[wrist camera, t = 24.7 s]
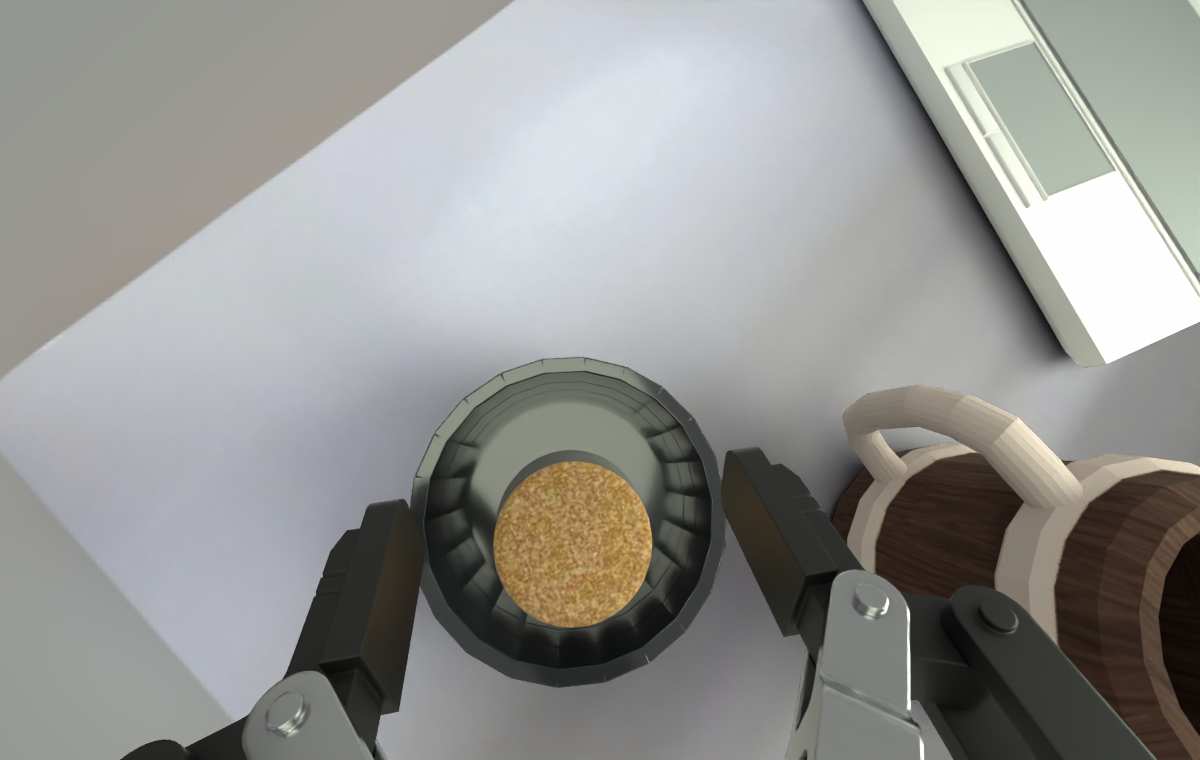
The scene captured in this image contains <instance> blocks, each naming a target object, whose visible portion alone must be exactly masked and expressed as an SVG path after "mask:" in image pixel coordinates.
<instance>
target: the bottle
mask: <svg viewBox="0 0 1200 760" xmlns="http://www.w3.org/2000/svg"><path fill="white" fill-rule="evenodd" d="M493 550H494V559H495V565H496V570H497V573H498V576H499V578H500V580H501V583H502V585H503V587H504V589H505V590H506V592H507V593H508V595H509V596H510V597H511V599H512V600H513V601H514V602H515V603H516V604H517V605H518V606H519V607H520V608H521V609H522V610H523V611H524V612H526V613H527V614H529V615H530V616H532V617H533V618H535V619H537V620H539V621H541V622H544V623H546V624H549V625H554V626H558V627H569V628H572V627H585V626H589V625H592V624H596V623H599V622H601V621H603V620H605V619H607V618H609V617H611V616H613V615H614V614H616V613H617V612H618V611H619V610H621V609H622V608H623V607H624V606H625V605H626V604H627V603H628V602H629V601H630V600H631V599H632V598H633V597H634V595H635V594H636V592H637V591H638V590H639V588H640V586H641V585H642V583H643V581H644V578H645V576H646V573H647V570H648V567H649V564H650V560H651V552H652V533H651V528H650V522H649V518H648V515H647V512H646V510H645V508H644V505H643V503H642V501H641V500H640V498H639V496H638V495H637V492H636V490H635V488H634V487H633V485H632V483H631V482H630V480H629V479H628V478H627V477H626V475H625V474H624V473H623V472H622V471H621V470H620V469H619V468H618V467H617V466H615V465H614V464H613V463H611V462H610V461H608V460H606V459H605V458H603V457H601V456H598V455H595V454H592V453H590V452H586V451H580V450H564V451H557V452H553V453H549V454H547V455H544V456H542V457H539V458H537V459H535V460H534V461H532V462H531V463H529V464H528V465H527V466H525V467H524V468H523V469H522V470H520V472H519V473H518V474H517V475H516V476H515V477H514V479H513V480H512V481H511V482H510V484H509V485H508V487H507V488H506V490H505V492H504V495H503V497H502V499H501V502H500V504H499V508H498V512H497V519H496V527H495V532H494V541H493Z"/></svg>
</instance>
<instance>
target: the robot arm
mask: <svg viewBox="0 0 1200 760" xmlns="http://www.w3.org/2000/svg"><path fill="white" fill-rule="evenodd" d="M721 502H722V507H723V510H724V513H725V516H726V518H727V520H728V522H729V524H730V526H731V528H732V530H733V532H734V534H735V536H736V539H737V541H738V543H739V545H740V547H741V549H742V551H743V553H744V555H745V557H746V559H747V561H748V564H749V566H750V568H751V570H752V572H753V574H754V576H755V578H756V580H757V582H758V584H759V586H760V589H761V591H762V593H763V595H764V597H765V599H766V601H767V603H768V605H769V607H770V609H771V611H772V614H773V616H774V618H775V620H776V622H777V624H778V626H779V628H780V630H781V632H782V634H783V636H784V637H787V636H792V635H797V634H800V635H801V637H802V639H803V641H804V643H805V645H806V650H805V654H804V660H803V666H802V672H801V678H800V684H799V690H798V696H797V702H796V708H795V714H794V720H793V726H792V731H791V736H790V741H789V745H788V749H787V752H786V756H785V760H924V748H923V737H922V732H921V729H920V727H919V725H918V724H917V723H916V722H914V721H913V720H912V717H911V710H910V699H912V700H918V701H920V703H921V705H922V707H923V708H924V710H925V712H926V713H927V715H928V717H929V718H930V720H931V722H932V724H933V725H934V727H935V729H936V730H937V732H938V734H939V735H940V737H941V739H942V741H943V742H944V744H945V746H946V747H947V749H948V751H949V752H950V754H951V756H952V758H953V759H954V760H1157V759H1156V757H1155V756H1154V755H1153V754H1152V753H1151V752H1150V751H1149V749H1148V748H1147V747H1146V746H1145V745H1144V744H1143V743H1142V741H1141V740H1140V739H1139V738H1138V737H1137V736H1136V735H1135V734H1134V732H1133V731H1132V730H1131V729H1130V728H1129V727H1128V726H1127V724H1126V723H1125V722H1124V721H1123V720H1122V719H1121V718H1120V716H1119V715H1118V714H1117V713H1116V712H1115V711H1114V710H1113V708H1112V707H1111V706H1110V705H1109V704H1108V703H1107V702H1106V701H1105V699H1104V698H1103V697H1102V696H1101V695H1100V694H1099V693H1098V691H1097V690H1096V689H1095V688H1094V687H1093V686H1092V685H1091V683H1090V682H1089V681H1088V680H1087V679H1086V678H1085V677H1084V675H1083V674H1082V673H1081V672H1080V671H1079V670H1078V669H1077V667H1076V666H1075V665H1074V664H1073V663H1072V662H1071V661H1070V660H1069V658H1068V657H1067V656H1066V655H1065V654H1064V653H1063V652H1062V650H1061V649H1060V648H1059V647H1058V646H1057V645H1056V644H1055V642H1054V641H1053V640H1052V639H1051V638H1050V637H1049V636H1048V634H1047V633H1046V632H1045V631H1044V630H1043V629H1042V628H1041V626H1040V625H1039V624H1038V623H1037V622H1036V621H1035V620H1034V619H1033V617H1032V616H1031V615H1030V614H1029V613H1028V612H1027V611H1026V610H1025V609H1024V608H1023V607H1022V606H1021V605H1020V604H1018V603H1017V602H1016V601H1014V600H1013V599H1011V598H1010V597H1008V596H1007V595H1005V594H1003V593H1001V592H999V591H997V590H994V589H991V588H989V587H985V586H980V585H966V586H962V587H960V588H958V589H957V590H956V591H955V592H954V594H953V595H952V597H951V598H950V599H948V598H941V597H934V596H926V595H919V594H912V593H906V592H902V591H899V590H897V589H896V588H895V587H894V586H893V585H892V584H891V583H890V582H888V581H887V580H885V579H884V578H882V577H880V576H878V575H876V574H874V573H871V572H868V571H866V570H865V569H864V568H863V567H862V565H861V564H860V563H859V561H858V560H857V559H856V557H855V556H854V554H853V553H852V551H851V550H850V549H849V547H848V546H847V544H846V543H845V541H844V540H843V539H842V537H841V536H840V534H839V533H838V531H837V530H836V529H835V527H834V526H833V524H832V523H831V522H830V520H829V519H828V517H827V516H826V514H825V513H824V512H822V511H821V507H820V506H819V504H818V503H817V502H816V500H815V499H814V497H813V498H812V496H811V493H810V492H809V490H808V489H807V487H806V486H805V484H804V483H803V482H802V480H801V479H800V477H798V476H797V475H796V474H794V473H793V472H792V471H790V470H789V469H788V468H786V467H785V466H784V465H782V464H776V465H771V464H770V462H769V461H768V459H767V458H766V456H765V455H764V453H763V452H762V450H761V449H760V448H759V447H749V448H743V449H736V450H730V451H727V453H726V457H725V464H724V471H723V478H722V484H721ZM423 563H424V548H423V542H422V538H421V536H420V533H419V531H418V528H417V526H416V524H415V521H414V519H413V516H412V514H411V512H410V509H409V507H408V504H407V502H406V501H405V500H404V499H399V500H393V501H386V502H379V503H373V504H370V505H369V506H368V507H367V509H366V511H365V515H364V518H363V521H362V524H361V527H360V529H354V530H347V531H346V532H345V534H344V535H343V536H342V537H341V539H340V540H339V541H338V542H337V544H336V545H335V546H334V548H333V549H332V550H331V551H330V554H329V557H328V560H327V562H326V565H325V568H324V571H323V578H321V579H320V582H319V585H318V587H317V590H316V596H315V597H314V598H313V601H312V604H311V607H310V610H309V612H308V615H307V618H306V621H305V623H304V626H303V629H302V632H301V634H300V637H299V640H298V643H297V645H296V648H295V651H294V654H293V657H292V659H291V662H290V665H289V667H288V670H287V672H286V674H285V676H284V677H283V679H282V680H281V681H279V682H278V683H276V684H275V685H274V686H273V687H271V688H270V689H269V690H268V691H267V692H266V693H265V694H264V695H263V696H262V697H261V698H260V699H259V701H258V702H257V703H256V704H255V706H254V708H253V709H252V711H251V712H250V714H248V715H247V716H246V717H244V718H242V719H240V720H239V721H237V722H235V723H233V724H231V725H229V726H227V727H225V728H223V729H221V730H219V731H217V732H215V733H213V734H211V735H209V736H207V737H205V738H203V739H201V740H199V741H197V742H195V743H194V744H191V745H189V746H187V747H185V748H184V747H182V746H181V745H180V744H178V743H177V742H175V741H172V740H158V741H154V742H150V743H148V744H145V745H143V746H141V747H139V748H137V749H135V750H134V751H132V752H130V753H129V754H127V755H126V756H124V757H123V758H122V759H120V760H388V759H387V757H386V755H385V754H384V752H383V750H382V748H381V746H380V745H379V743H378V741H377V739H376V736H377V731H378V726H379V720H380V715H384V714H389V713H394V712H399V707H400V701H401V695H402V689H403V683H404V677H405V671H406V665H407V659H408V653H409V647H410V641H411V635H412V629H413V623H414V617H415V611H416V605H417V599H418V593H419V587H420V581H421V575H422V569H423Z"/></svg>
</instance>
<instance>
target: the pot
mask: <svg viewBox="0 0 1200 760" xmlns="http://www.w3.org/2000/svg"><path fill="white" fill-rule="evenodd" d="M564 450H580V451H586V452H590V453H592V454H595V455H598V456H601V457H603V458H605V459H606V460H608V461H610V462H611V463H613V464H614V465H615V466H617V467H618V468H619V469H620V470H621V471H622V472H623V473H624V474H625V475H626V477H627V478H628V479H629V480H630V482H631V483H632V485H633V487H634V488H635V490H636V492H637V495H638V496H639V498H640V500H641V501H642V503H643V505H644V508H645V510H646V512H647V515H648V518H649V522H650V528H651V533H652V552H651V560H650V564H649V567H648V570H647V573H646V576H645V578H644V581H643V583H642V585H641V586H640V588H639V590H638V591H637V592H636V594H635V595H634V597H633V598H632V599H631V600H630V601H629V602H628V603H627V604H626V605H625V606H624V607H623V608H622V609H621V610H619V611H618V612H617V613H616V614H614V615H613V616H611V617H609V618H607V619H605V620H603V621H601V622H599V623H596V624H592V625H589V626H585V627H572V628H569V627H558V626H554V625H549V624H546V623H544V622H541V621H539V620H537V619H535V618H533V617H532V616H530V615H529V614H527V613H526V612H524V611H523V610H522V609H521V608H520V607H519V606H518V605H517V604H516V603H515V602H514V601H513V600H512V599H511V597H510V596H509V595H508V593H507V592H506V590H505V589H504V587H503V585H502V583H501V580H500V578H499V576H498V573H497V570H496V565H495V559H494V550H493V541H494V532H495V527H496V519H497V512H498V508H499V504H500V502H501V499H502V497H503V495H504V492H505V490H506V488H507V487H508V485H509V484H510V482H511V481H512V480H513V479H514V477H515V476H516V475H517V474H518V473H519V472H520V470H522V469H523V468H524V467H525V466H527V465H528V464H529V463H531V462H532V461H534V460H535V459H537V458H539V457H542V456H544V455H547V454H549V453H553V452H557V451H564ZM415 476H416V477H414V482H413V489H412V496H411V502H410V512H411V514H412V516H413V519H414V521H415V524H416V526H417V528H418V531H419V533H420V536H421V538H422V542H423V548H424V563H423V569H422V575H421V581H420V586H421V588H422V591H423V593H424V595H425V597H426V599H427V602H428V604H429V606H430V608H431V610H432V612H433V615H434V616H435V618H436V619H437V621H438V622H439V623H440V624H441V625H442V626H443V627H444V628H445V629H446V631H447V632H448V633H449V634H450V635H451V636H452V637H453V638H454V639H455V641H456V642H457V643H458V644H459V645H460V646H461V647H462V648H463V649H464V650H465V652H466V653H468V654H469V655H471V656H473V657H475V658H476V659H478V660H480V661H482V662H483V663H485V664H487V665H488V666H490V667H492V668H494V669H495V670H497V671H499V672H501V673H502V674H504V675H506V676H508V677H510V678H513V679H517V680H522V681H527V682H532V683H537V684H541V685H546V686H551V687H558V688H561V687H570V686H579V685H588V684H597V683H605V682H608V681H610V680H612V679H614V678H617V677H619V676H621V675H623V674H626V673H628V672H630V671H632V670H635V669H637V668H639V667H641V666H644V665H646V664H648V663H649V662H651V661H652V660H653V659H655V658H656V657H657V656H658V655H659V654H660V653H661V652H663V651H664V650H665V649H666V648H667V647H668V646H670V645H671V644H672V643H673V642H674V641H675V640H676V639H678V638H679V637H680V636H681V635H682V634H683V633H684V632H685V630H687V629H688V627H689V626H690V624H691V623H692V621H693V620H694V618H695V616H696V615H697V613H698V612H699V610H700V609H701V607H702V605H703V604H704V602H705V601H706V599H707V598H708V596H709V595H710V593H711V590H712V589H713V586H714V583H715V580H716V576H717V573H718V570H719V566H720V563H721V560H722V556H723V553H724V550H725V545H726V516H725V513H724V510H723V507H722V502H721V484H722V479H721V475H720V471H719V467H718V463H717V459H716V456H715V454H714V452H713V450H712V448H711V447H710V445H709V443H708V441H707V440H706V438H705V436H704V434H703V433H702V431H701V429H700V427H699V426H698V424H697V422H696V420H695V419H694V418H693V416H692V415H691V414H690V413H689V412H688V411H687V410H686V409H685V408H684V407H683V406H682V405H680V404H679V403H678V402H677V401H676V400H675V399H674V398H673V397H672V396H671V395H670V394H669V393H668V392H667V391H666V390H665V389H664V388H663V387H662V386H660V385H658V384H657V383H655V382H653V381H651V380H649V379H648V378H646V377H644V376H642V375H640V374H639V373H637V372H635V371H633V370H631V369H630V368H628V367H626V368H625V367H624V366H621V365H617V364H612V363H608V362H604V361H599V360H595V359H591V358H587V357H586V358H585V357H572V358H551V359H542V360H538V361H535V362H532V363H529V364H526V365H523V366H520V367H517V368H514V369H511V370H508V371H505V372H502V373H501V374H498V375H497V376H495V377H494V378H492V379H491V380H490V381H488V382H487V383H485V384H484V385H482V386H481V387H479V388H478V389H476V390H475V391H473V392H472V393H471V394H469V395H468V396H466V397H465V398H464V399H462V401H461V402H460V403H459V404H458V405H457V406H456V408H455V409H454V410H453V411H452V412H451V414H450V415H449V416H448V417H447V418H446V420H445V421H444V422H443V423H442V424H441V426H440V427H439V428H438V429H437V430H436V431H435V434H434V435H433V437H432V439H431V441H430V443H429V446H428V448H427V450H426V452H425V455H424V457H423V459H422V461H421V463H420V466H419V468H418V470H417V472H416V474H415Z"/></svg>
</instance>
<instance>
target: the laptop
mask: <svg viewBox="0 0 1200 760" xmlns="http://www.w3.org/2000/svg"><path fill="white" fill-rule="evenodd" d="M862 1H863V2H864V4H865V6H866V8H867V9H868V11H869V13H870V15H871V16H872V18H873V20H874V21H875V23H876V25H877V27H878V28H879V30H880V32H881V34H882V35H883V37H884V39H885V41H886V42H887V44H888V46H889V47H890V49H891V51H892V53H893V54H894V56H895V58H896V60H897V61H898V63H899V65H900V67H901V68H902V70H903V72H904V73H905V75H906V77H907V79H908V80H909V82H910V84H911V86H912V87H913V89H914V91H915V92H916V94H917V96H918V98H919V99H920V101H921V103H922V105H923V106H924V108H925V110H926V112H927V113H928V115H929V117H930V118H931V120H932V122H933V124H934V125H935V127H936V129H937V131H938V132H939V134H940V136H941V138H942V139H943V141H944V143H945V144H946V146H947V148H948V150H949V151H950V153H951V155H952V157H953V158H954V160H955V162H956V164H957V165H958V167H959V169H960V170H961V172H962V174H963V176H964V177H965V179H966V181H967V183H968V184H969V186H970V188H971V189H972V191H973V193H974V195H975V196H976V198H977V200H978V202H979V203H980V205H981V207H982V209H983V210H984V212H985V214H986V215H987V217H988V219H989V221H990V222H991V224H992V226H993V228H994V229H995V231H996V233H997V235H998V236H999V238H1000V240H1001V241H1002V243H1003V245H1004V247H1005V248H1006V250H1007V252H1008V254H1009V255H1010V257H1011V259H1012V260H1013V262H1014V264H1015V266H1016V267H1017V269H1018V271H1019V273H1020V274H1021V276H1022V278H1023V280H1024V281H1025V283H1026V285H1027V286H1028V288H1029V290H1030V292H1031V293H1032V295H1033V297H1034V299H1035V300H1036V302H1037V304H1038V306H1039V307H1040V309H1041V311H1042V312H1043V314H1044V316H1045V318H1046V319H1047V321H1048V323H1049V325H1050V326H1051V328H1052V330H1053V331H1054V333H1055V335H1056V337H1057V338H1058V340H1059V342H1060V344H1061V345H1062V347H1063V349H1064V351H1065V352H1066V353H1067V354H1068V355H1069V356H1070V357H1071V358H1072V359H1073V360H1074V361H1075V362H1076V363H1077V364H1078V365H1079V366H1082V367H1086V368H1088V367H1093V366H1098V365H1103V364H1108V363H1110V362H1112V361H1114V360H1116V359H1118V358H1121V357H1123V356H1125V355H1127V354H1129V353H1131V352H1134V351H1136V350H1138V349H1140V348H1142V347H1145V346H1147V345H1149V344H1151V343H1153V342H1155V341H1158V340H1160V339H1162V338H1164V337H1166V336H1169V335H1171V334H1173V333H1175V332H1177V331H1179V330H1182V329H1184V328H1186V327H1188V326H1190V325H1193V324H1195V323H1197V322H1199V321H1200V0H862Z"/></svg>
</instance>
